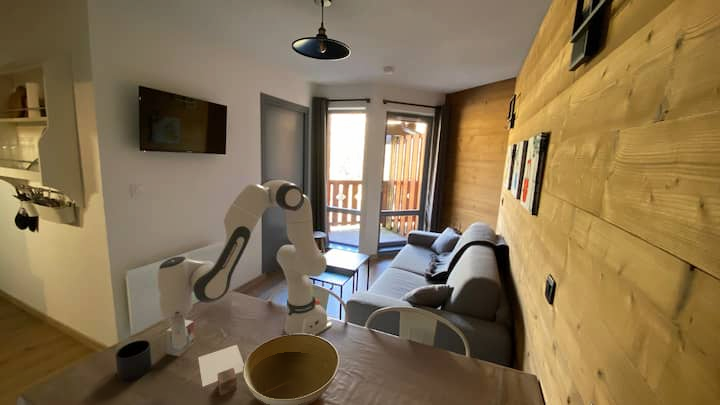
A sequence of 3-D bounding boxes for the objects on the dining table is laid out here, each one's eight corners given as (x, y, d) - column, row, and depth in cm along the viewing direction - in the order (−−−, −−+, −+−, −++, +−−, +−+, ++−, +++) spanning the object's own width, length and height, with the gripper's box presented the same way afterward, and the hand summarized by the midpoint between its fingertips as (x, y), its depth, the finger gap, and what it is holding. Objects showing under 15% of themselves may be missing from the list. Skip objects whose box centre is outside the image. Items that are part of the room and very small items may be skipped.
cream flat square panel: (236, 345, 113) (236, 344, 113) (246, 370, 100) (246, 369, 100) (198, 358, 104) (198, 357, 104) (202, 387, 92) (202, 386, 92)
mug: (132, 358, 103) (130, 336, 101) (158, 364, 100) (156, 342, 99) (104, 377, 93) (101, 354, 92) (132, 384, 91) (130, 361, 90)
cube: (188, 339, 96) (187, 327, 95) (189, 348, 92) (188, 335, 91) (170, 345, 93) (169, 332, 92) (171, 354, 89) (169, 340, 88)
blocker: (233, 379, 96) (233, 367, 95) (236, 390, 92) (236, 377, 91) (218, 386, 93) (217, 373, 92) (220, 396, 89) (220, 383, 88)
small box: (179, 357, 104) (177, 332, 103) (167, 354, 105) (165, 330, 104) (195, 343, 112) (194, 320, 110) (184, 341, 113) (182, 318, 111)
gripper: (190, 318, 83) (192, 358, 85) (186, 290, 99) (188, 323, 102) (164, 325, 79) (168, 366, 82) (165, 294, 96) (168, 329, 98)
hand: (179, 342), depth 92 cm, fingers closed on cube, 5 cm apart
